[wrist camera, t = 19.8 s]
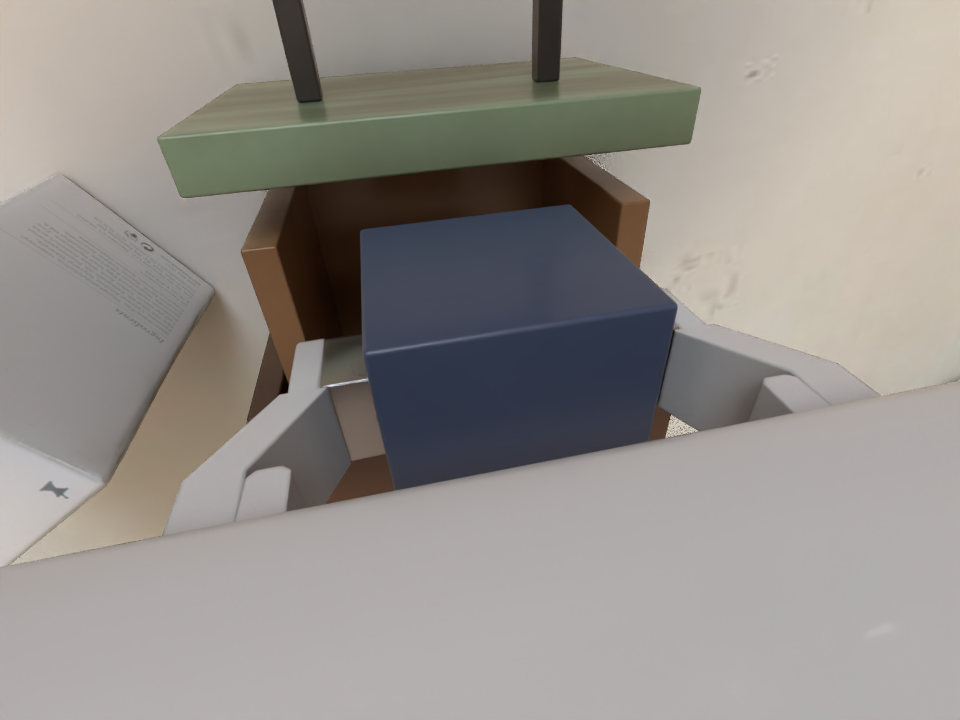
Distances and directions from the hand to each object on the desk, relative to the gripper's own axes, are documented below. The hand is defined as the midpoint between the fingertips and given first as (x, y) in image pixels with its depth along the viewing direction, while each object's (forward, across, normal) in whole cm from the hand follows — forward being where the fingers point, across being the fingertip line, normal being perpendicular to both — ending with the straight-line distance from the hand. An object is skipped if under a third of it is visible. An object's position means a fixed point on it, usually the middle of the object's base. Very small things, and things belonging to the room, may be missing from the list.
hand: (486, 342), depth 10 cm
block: (+2, 0, 0) cm, 2 cm away
